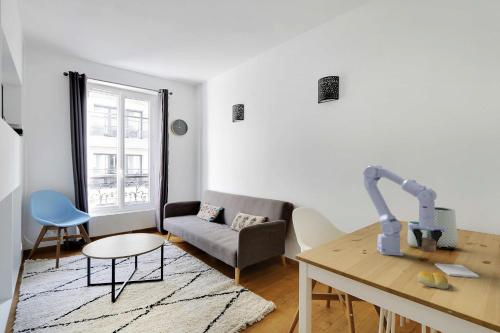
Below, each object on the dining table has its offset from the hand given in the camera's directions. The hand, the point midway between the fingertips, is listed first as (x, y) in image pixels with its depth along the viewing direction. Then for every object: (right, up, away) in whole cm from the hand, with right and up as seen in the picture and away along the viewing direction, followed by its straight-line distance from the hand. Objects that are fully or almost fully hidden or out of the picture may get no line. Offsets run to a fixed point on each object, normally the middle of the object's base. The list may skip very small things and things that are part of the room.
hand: (426, 246), depth 108 cm
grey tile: (+5, -7, -10) cm, 13 cm away
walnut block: (0, -2, 0) cm, 2 cm away
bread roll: (-12, -7, -20) cm, 24 cm away
